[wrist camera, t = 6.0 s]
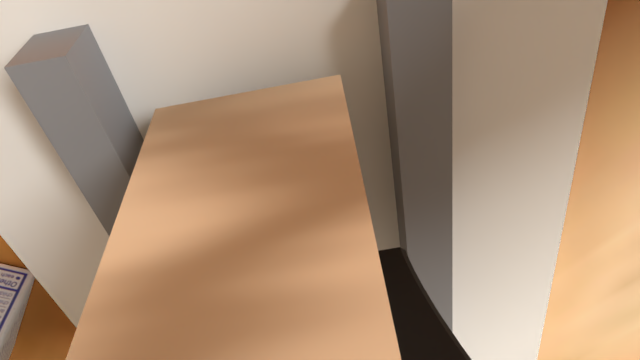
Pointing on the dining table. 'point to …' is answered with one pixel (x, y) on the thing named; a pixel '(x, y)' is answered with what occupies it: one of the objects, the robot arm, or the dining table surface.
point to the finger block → (243, 238)
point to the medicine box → (12, 304)
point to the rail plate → (365, 116)
